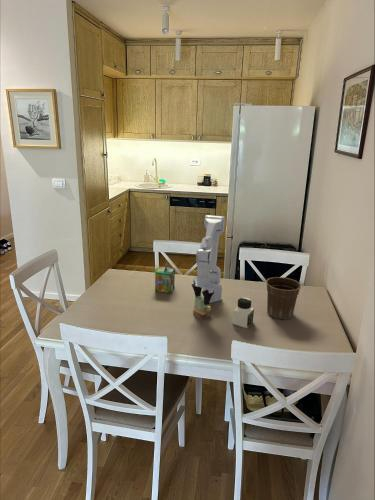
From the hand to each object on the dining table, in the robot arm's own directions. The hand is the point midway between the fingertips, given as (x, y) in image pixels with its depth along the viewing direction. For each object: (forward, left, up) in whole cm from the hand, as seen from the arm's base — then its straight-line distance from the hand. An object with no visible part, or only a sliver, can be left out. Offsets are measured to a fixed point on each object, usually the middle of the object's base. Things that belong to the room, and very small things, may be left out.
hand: (202, 301), depth 172 cm
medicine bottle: (-13, +15, -8) cm, 21 cm away
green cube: (0, 0, -3) cm, 3 cm away
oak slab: (0, 0, -5) cm, 5 cm away
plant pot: (-35, +16, -8) cm, 39 cm away
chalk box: (+2, -35, -8) cm, 36 cm away
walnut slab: (0, 0, -8) cm, 8 cm away
